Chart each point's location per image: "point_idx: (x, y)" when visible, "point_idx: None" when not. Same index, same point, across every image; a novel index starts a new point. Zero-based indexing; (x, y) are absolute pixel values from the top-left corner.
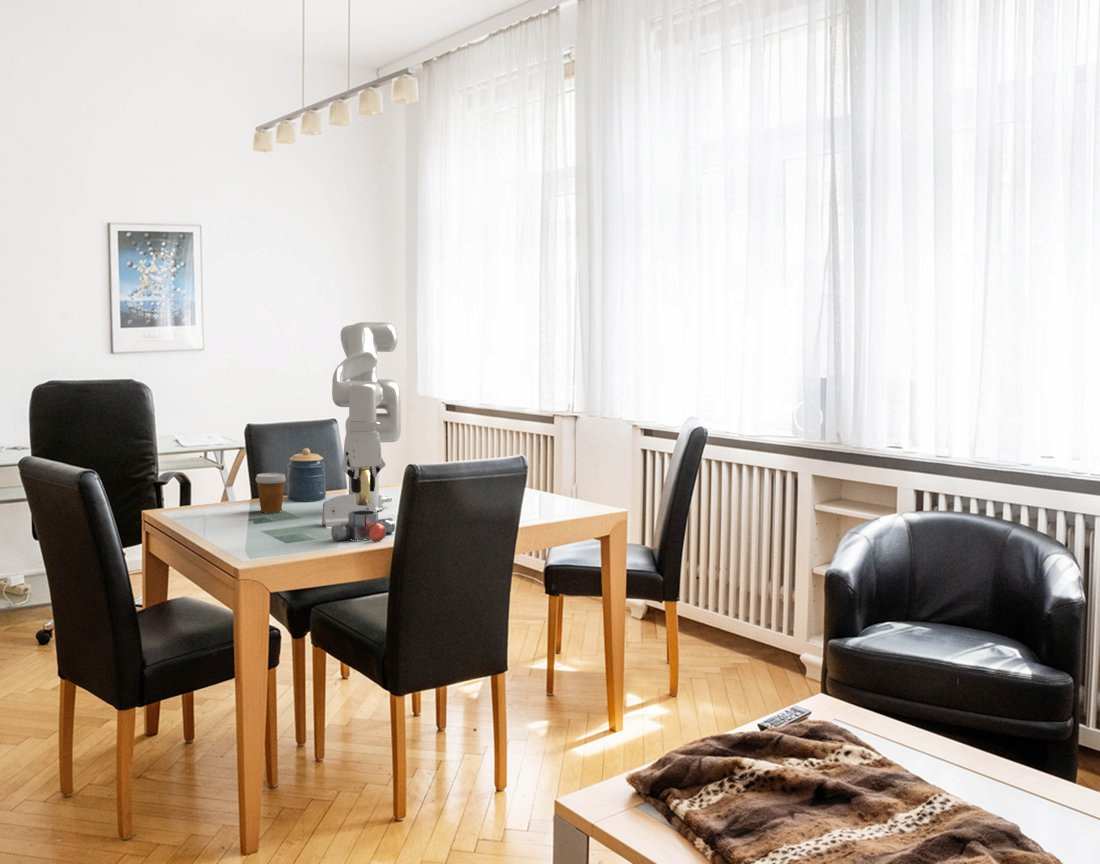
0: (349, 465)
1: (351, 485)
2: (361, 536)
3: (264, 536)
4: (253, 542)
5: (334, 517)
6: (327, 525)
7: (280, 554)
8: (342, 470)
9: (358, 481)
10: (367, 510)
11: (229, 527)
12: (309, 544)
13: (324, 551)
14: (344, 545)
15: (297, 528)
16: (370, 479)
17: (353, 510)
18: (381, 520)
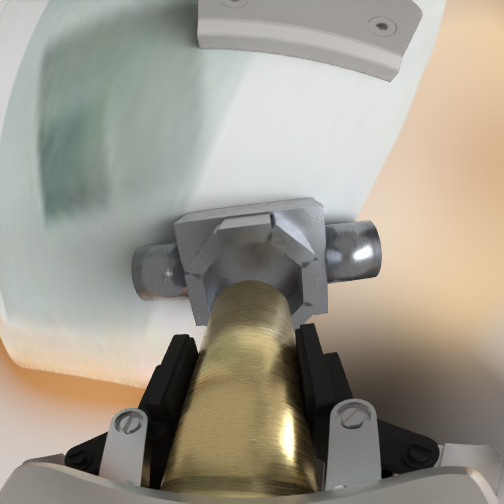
0: (74, 480)
1: (151, 381)
2: None
3: (27, 115)
4: (3, 178)
5: (236, 15)
6: (203, 42)
7: (39, 319)
8: (44, 461)
9: None
10: (296, 247)
11: (25, 7)
12: (87, 264)
13: (112, 348)
14: (165, 323)
15: (121, 30)
16: None
17: (322, 11)
18: (333, 274)
